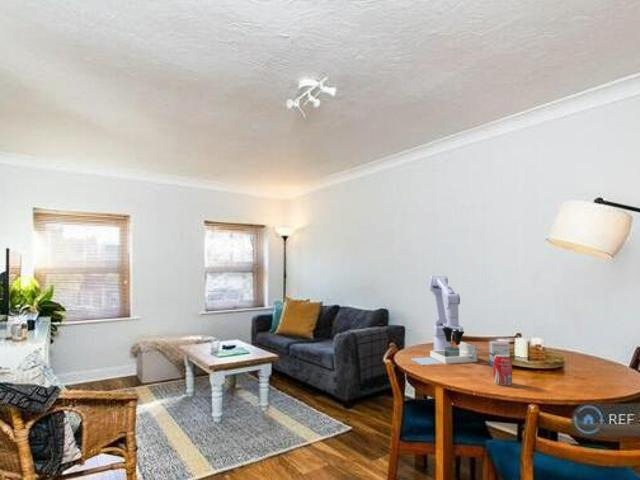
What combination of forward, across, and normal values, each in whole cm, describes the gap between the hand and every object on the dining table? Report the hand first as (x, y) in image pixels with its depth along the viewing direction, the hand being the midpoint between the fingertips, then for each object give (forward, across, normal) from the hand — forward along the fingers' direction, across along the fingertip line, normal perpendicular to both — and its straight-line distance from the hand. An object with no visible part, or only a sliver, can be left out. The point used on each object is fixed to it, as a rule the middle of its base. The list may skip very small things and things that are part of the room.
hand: (453, 343), depth 205 cm
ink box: (+9, +16, +15) cm, 24 cm away
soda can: (+9, +40, -5) cm, 41 cm away
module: (+8, -1, 0) cm, 8 cm away
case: (+9, 0, 0) cm, 9 cm away
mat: (+9, -2, -15) cm, 18 cm away
